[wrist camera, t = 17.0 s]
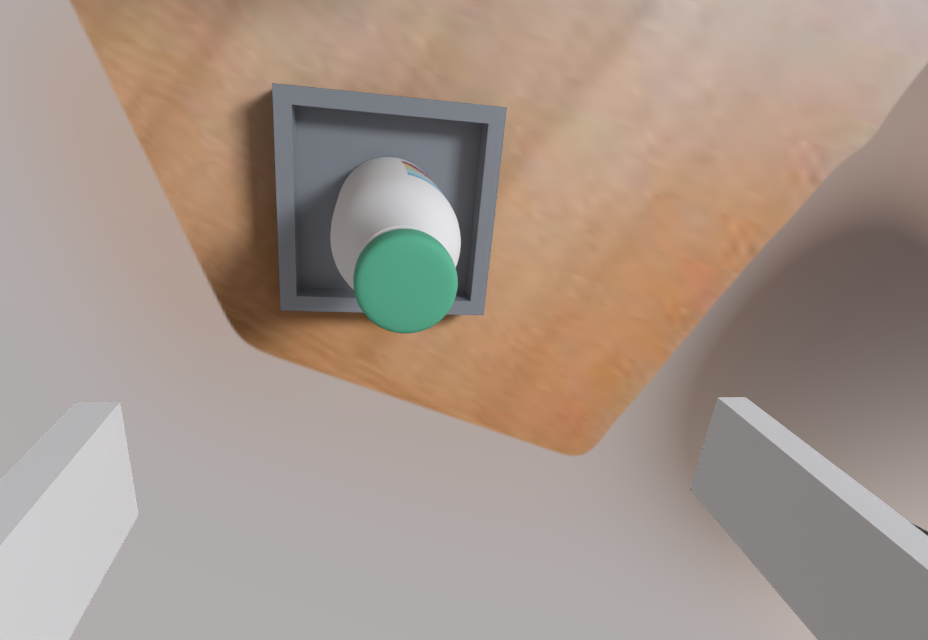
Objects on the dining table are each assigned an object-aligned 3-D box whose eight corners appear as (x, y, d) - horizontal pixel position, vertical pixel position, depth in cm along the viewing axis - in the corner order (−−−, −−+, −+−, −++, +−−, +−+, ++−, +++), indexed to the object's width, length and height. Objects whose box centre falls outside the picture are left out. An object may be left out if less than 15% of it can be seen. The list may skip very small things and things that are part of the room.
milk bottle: (346, 260, 42) (330, 378, 24) (330, 159, 39) (299, 206, 21) (441, 250, 43) (497, 356, 25) (433, 151, 40) (491, 189, 22)
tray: (279, 85, 37) (272, 83, 34) (497, 107, 40) (506, 107, 38) (285, 297, 43) (280, 310, 40) (476, 303, 46) (483, 315, 43)
